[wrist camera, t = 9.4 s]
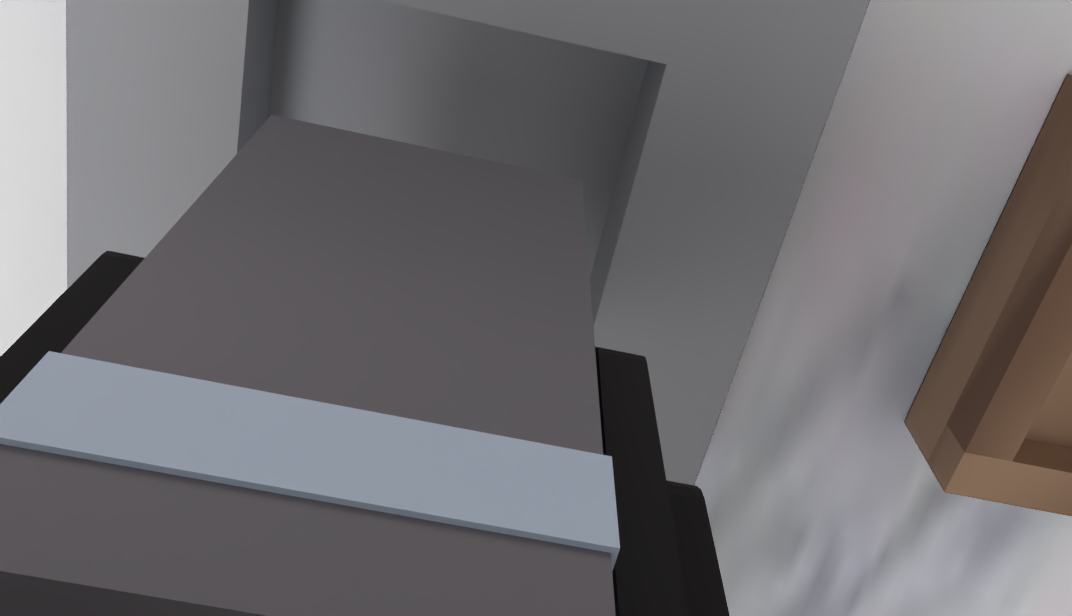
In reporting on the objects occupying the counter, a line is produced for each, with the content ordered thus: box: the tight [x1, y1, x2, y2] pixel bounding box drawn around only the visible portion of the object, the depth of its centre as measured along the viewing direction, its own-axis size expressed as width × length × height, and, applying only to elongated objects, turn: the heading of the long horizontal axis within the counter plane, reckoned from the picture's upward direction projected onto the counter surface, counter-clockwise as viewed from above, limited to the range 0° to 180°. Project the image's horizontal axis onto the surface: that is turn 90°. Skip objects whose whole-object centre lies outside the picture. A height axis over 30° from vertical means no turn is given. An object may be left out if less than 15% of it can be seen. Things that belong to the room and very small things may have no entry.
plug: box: [0, 115, 620, 616], centre depth 10 cm, size 4×4×8 cm
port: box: [66, 0, 870, 485], centre depth 18 cm, size 12×12×3 cm
